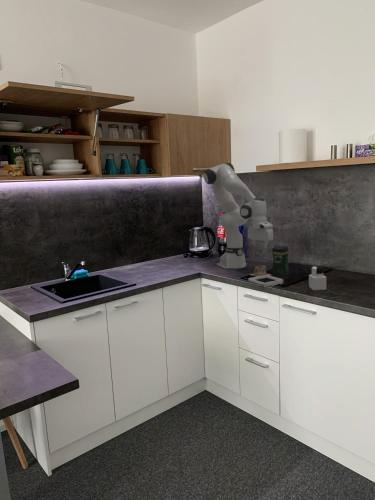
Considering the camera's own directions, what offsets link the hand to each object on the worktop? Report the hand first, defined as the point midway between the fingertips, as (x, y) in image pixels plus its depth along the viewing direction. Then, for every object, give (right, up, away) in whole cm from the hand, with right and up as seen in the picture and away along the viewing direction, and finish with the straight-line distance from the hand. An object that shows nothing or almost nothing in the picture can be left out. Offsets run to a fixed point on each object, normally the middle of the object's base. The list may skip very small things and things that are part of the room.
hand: (260, 247), depth 238 cm
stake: (+1, -18, +3) cm, 19 cm away
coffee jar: (+14, -18, +5) cm, 23 cm away
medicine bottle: (+26, -23, -28) cm, 44 cm away
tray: (+1, -21, -13) cm, 24 cm away
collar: (+1, -17, +3) cm, 17 cm away
